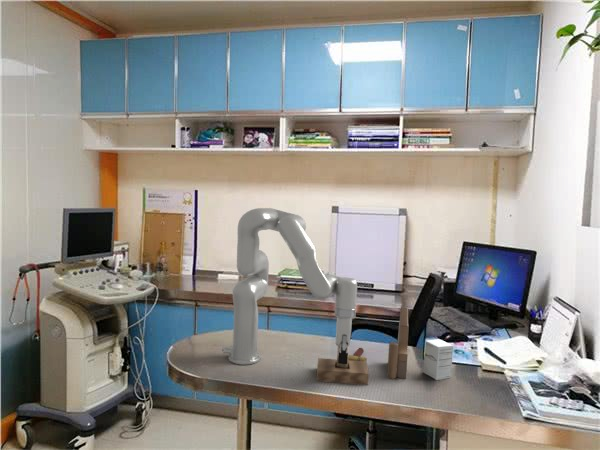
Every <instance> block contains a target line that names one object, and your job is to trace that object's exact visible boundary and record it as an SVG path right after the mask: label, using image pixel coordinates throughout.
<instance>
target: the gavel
mask: <svg viewBox="0 0 600 450" xmlns="http://www.w3.org/2000/svg"><path fill="white" fill-rule="evenodd" d="M363 353H364V348H363V347H358V349H357V350H356V351H355V352H354V353H353V355H351V354H348V360H350V361H364V362H366V363H367V362H368V361H367V357H366V356H362V355H363Z"/></svg>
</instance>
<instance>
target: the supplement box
mask: <svg viewBox="0 0 600 450" xmlns="http://www.w3.org/2000/svg"><path fill="white" fill-rule="evenodd" d="M453 354H454V345H453V344H451V343H449V342H446V341H444V340H443V339H440V338H436V339H430V340H425V346H424V359H423V373H424V374H425V375H427V376H429V377H431V378H433V379H434V380H435V381H440V380H447V379H450V378H452V368H453V367H452V366H453V357H454V355H453Z"/></svg>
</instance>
